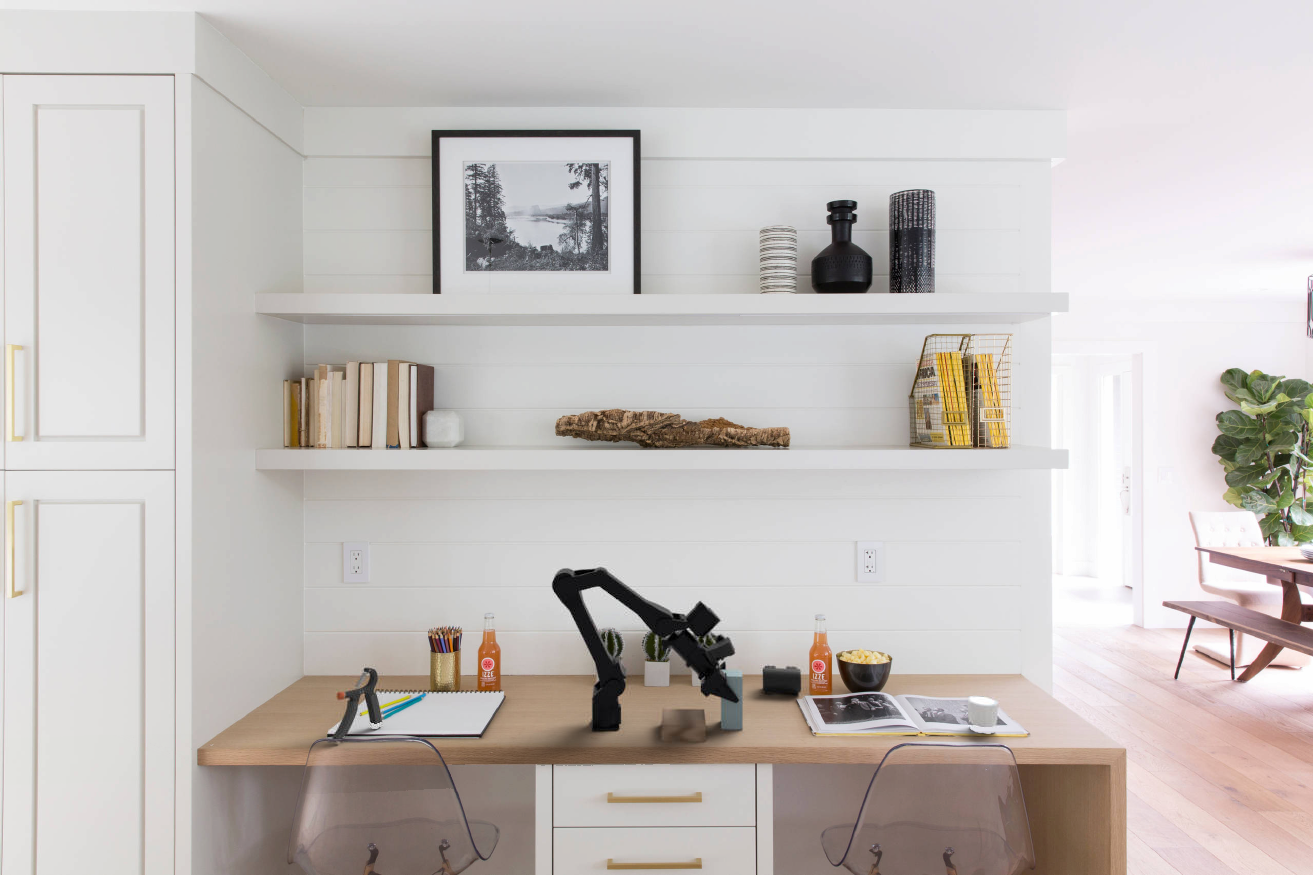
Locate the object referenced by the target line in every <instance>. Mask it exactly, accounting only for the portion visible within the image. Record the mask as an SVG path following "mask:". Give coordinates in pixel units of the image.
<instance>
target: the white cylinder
mask: <svg viewBox="0 0 1313 875" xmlns="http://www.w3.org/2000/svg"><path fill="white" fill-rule="evenodd" d="M966 704H967V715H968V723H969V722H971V723H972V724H974V725H977V726H980V727H993V726H995V725H996V726H997V720H998V719H997V718H998V709H999V701H998V700H996V699H995V698H993V697H989V696H985V695H971V696H967V697H966Z"/></svg>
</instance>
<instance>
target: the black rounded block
mask: <svg viewBox="0 0 1313 875" xmlns="http://www.w3.org/2000/svg"><path fill="white" fill-rule="evenodd" d="M762 691H763V693H765V694H778V695H779V694H780V695H781V694H783V695H799V694H800V693H801V692H802V672H801V669H800V668H798V667H797V666H794V665H793V666H789V665H787V666H786V667H785V668H783V667H782V668H780V667H779V668H778V667H776V665H765V666H764V667H763V668H762Z"/></svg>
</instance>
